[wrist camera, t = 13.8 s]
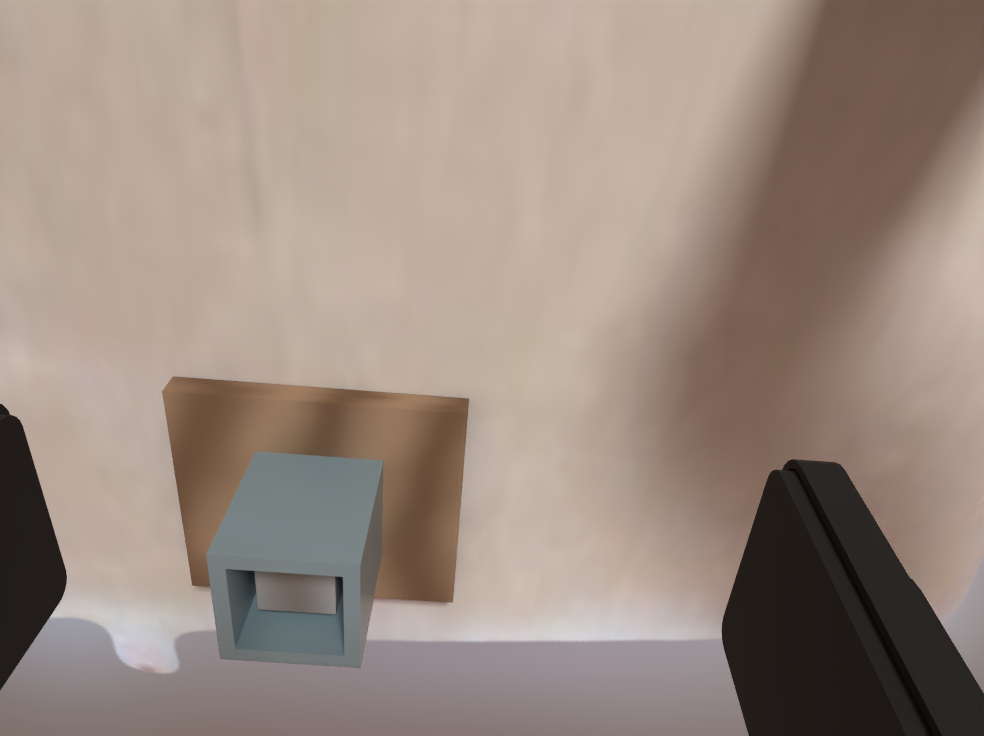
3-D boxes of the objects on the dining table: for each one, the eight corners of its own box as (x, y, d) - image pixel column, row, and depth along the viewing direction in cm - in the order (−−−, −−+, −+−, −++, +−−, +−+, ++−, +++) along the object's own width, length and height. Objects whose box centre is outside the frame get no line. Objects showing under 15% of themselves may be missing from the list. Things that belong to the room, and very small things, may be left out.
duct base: (468, 398, 41) (462, 484, 35) (454, 584, 48) (446, 685, 42) (173, 376, 41) (111, 459, 34) (200, 567, 48) (153, 667, 41)
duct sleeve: (383, 460, 42) (360, 565, 35) (381, 555, 45) (360, 667, 38) (255, 451, 41) (206, 554, 34) (263, 547, 45) (220, 658, 38)
